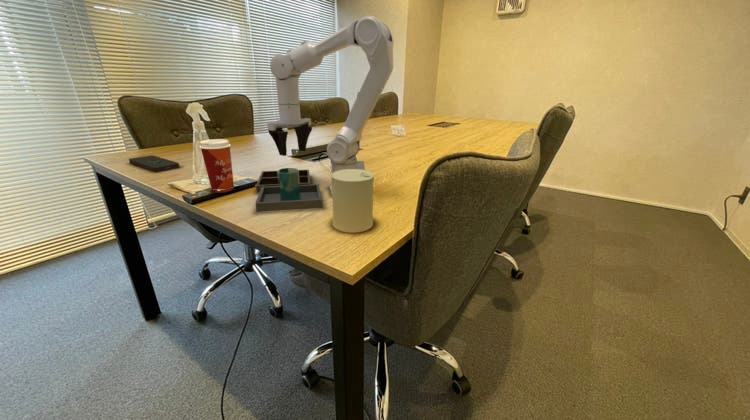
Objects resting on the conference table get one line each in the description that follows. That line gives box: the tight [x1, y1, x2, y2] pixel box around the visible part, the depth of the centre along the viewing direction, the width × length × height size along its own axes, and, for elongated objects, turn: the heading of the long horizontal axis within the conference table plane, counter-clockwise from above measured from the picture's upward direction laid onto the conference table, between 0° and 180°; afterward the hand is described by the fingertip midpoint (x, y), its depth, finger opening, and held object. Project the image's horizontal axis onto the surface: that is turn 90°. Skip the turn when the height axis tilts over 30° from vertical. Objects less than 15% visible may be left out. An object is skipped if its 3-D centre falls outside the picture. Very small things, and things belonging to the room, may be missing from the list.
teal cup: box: [276, 167, 301, 201], centre depth 78 cm, size 5×5×8 cm
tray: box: [255, 183, 323, 213], centre depth 79 cm, size 16×13×2 cm
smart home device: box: [128, 154, 181, 173], centre depth 109 cm, size 8×2×20 cm
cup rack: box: [255, 169, 311, 194], centre depth 92 cm, size 15×15×2 cm
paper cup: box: [198, 138, 235, 194], centre depth 84 cm, size 8×8×14 cm
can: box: [330, 169, 375, 234], centre depth 66 cm, size 9×9×12 cm
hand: (292, 152), depth 89 cm, fingers open, 7 cm apart
